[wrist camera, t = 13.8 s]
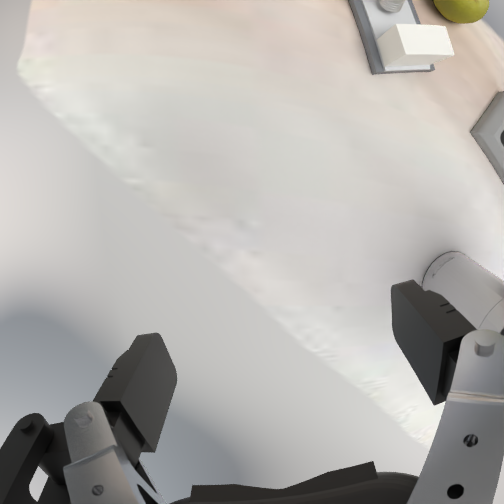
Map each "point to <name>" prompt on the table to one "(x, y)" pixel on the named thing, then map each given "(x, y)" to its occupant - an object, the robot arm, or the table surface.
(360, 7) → the rail board
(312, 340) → the table surface
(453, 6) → the apple
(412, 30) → the block
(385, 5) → the lightbulb
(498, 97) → the grey flat block
